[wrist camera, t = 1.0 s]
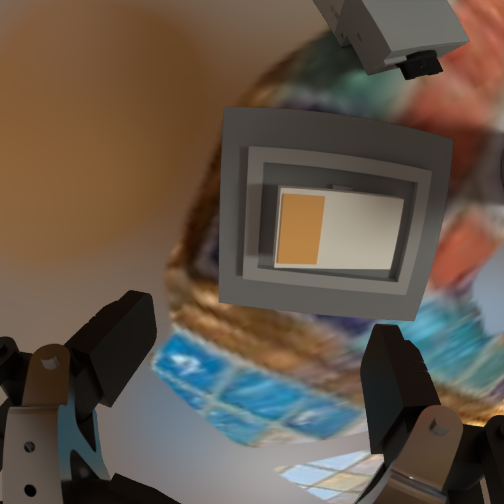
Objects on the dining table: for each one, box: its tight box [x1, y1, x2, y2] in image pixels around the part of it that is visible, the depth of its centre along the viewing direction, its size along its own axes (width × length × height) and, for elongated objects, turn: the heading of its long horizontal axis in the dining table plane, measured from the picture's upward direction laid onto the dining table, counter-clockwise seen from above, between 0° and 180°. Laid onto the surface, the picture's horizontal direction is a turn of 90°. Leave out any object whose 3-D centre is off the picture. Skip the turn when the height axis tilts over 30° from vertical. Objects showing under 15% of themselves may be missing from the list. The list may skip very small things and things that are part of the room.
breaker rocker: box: [273, 185, 404, 269], centre depth 21 cm, size 10×6×1 cm, turn 87°
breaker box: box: [219, 107, 454, 321], centre depth 26 cm, size 20×18×7 cm
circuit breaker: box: [313, 0, 470, 80], centre depth 14 cm, size 8×14×15 cm, turn 24°
